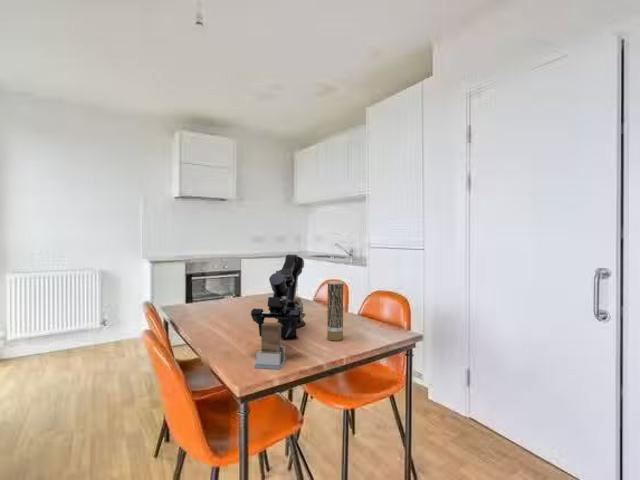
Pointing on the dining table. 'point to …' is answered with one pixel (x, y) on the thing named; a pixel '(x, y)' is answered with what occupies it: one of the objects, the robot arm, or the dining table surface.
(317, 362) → the dining table surface
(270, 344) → the walnut slab
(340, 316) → the paper tube
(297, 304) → the owl figurine
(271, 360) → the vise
